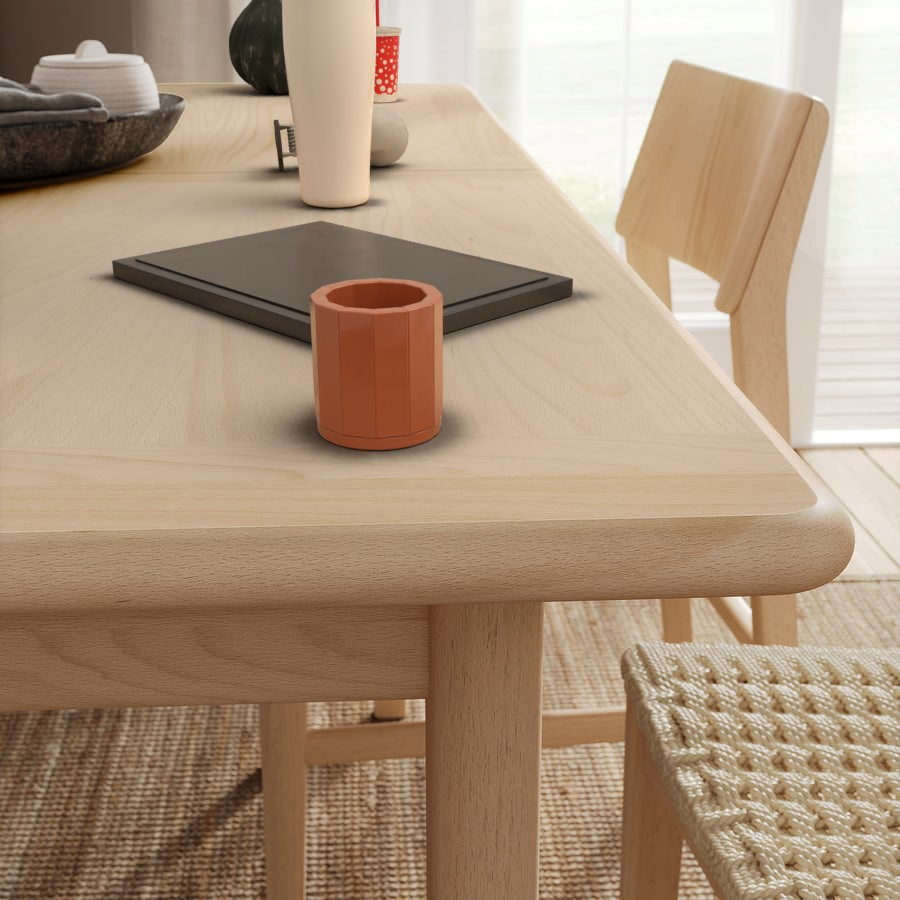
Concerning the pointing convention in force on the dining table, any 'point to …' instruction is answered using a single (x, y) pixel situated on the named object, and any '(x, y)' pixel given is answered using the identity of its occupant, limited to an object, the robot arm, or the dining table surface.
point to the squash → (260, 46)
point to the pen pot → (377, 362)
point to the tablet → (333, 275)
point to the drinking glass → (331, 96)
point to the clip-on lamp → (385, 138)
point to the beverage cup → (386, 61)
